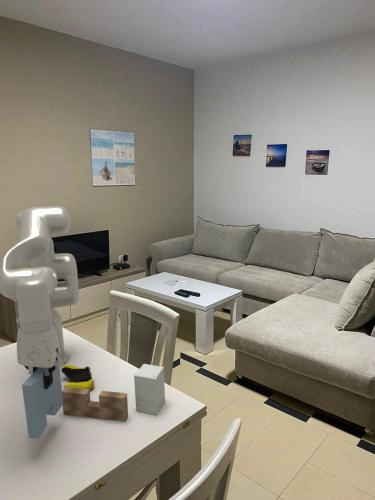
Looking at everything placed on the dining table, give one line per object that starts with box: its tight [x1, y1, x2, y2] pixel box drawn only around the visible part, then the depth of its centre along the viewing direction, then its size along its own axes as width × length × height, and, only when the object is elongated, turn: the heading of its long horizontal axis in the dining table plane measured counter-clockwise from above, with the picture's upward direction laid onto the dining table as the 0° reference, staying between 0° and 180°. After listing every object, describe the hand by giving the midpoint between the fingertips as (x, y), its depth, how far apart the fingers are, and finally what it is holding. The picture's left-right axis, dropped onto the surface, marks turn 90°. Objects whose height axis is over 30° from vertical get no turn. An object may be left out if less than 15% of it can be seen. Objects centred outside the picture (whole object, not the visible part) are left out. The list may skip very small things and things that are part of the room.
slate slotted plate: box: [21, 367, 63, 440], centre depth 104 cm, size 14×2×16 cm, turn 171°
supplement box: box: [133, 363, 166, 416], centre depth 120 cm, size 7×7×13 cm
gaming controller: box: [60, 364, 95, 391], centre depth 132 cm, size 15×6×10 cm
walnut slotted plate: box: [62, 387, 129, 422], centre depth 116 cm, size 20×2×8 cm, turn 81°
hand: (43, 385), depth 103 cm, fingers closed on slate slotted plate, 2 cm apart
